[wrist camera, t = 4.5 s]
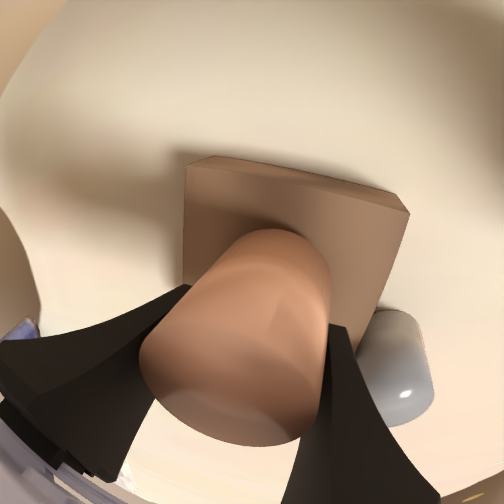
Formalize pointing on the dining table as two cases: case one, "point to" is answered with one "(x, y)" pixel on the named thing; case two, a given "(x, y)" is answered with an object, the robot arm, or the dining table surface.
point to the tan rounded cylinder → (246, 343)
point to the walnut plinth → (296, 226)
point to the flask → (23, 330)
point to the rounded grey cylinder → (395, 367)
